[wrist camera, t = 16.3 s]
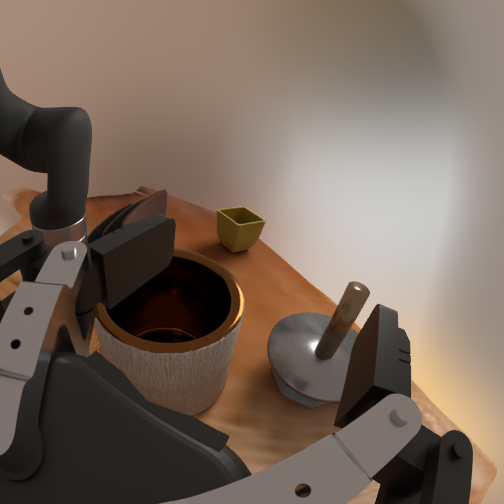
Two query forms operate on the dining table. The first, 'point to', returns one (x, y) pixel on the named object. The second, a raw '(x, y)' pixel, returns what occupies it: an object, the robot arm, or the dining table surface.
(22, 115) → the robot arm
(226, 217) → the flower pot
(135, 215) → the letter holder
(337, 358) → the spindle on round base
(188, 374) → the planter
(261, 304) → the dining table surface
